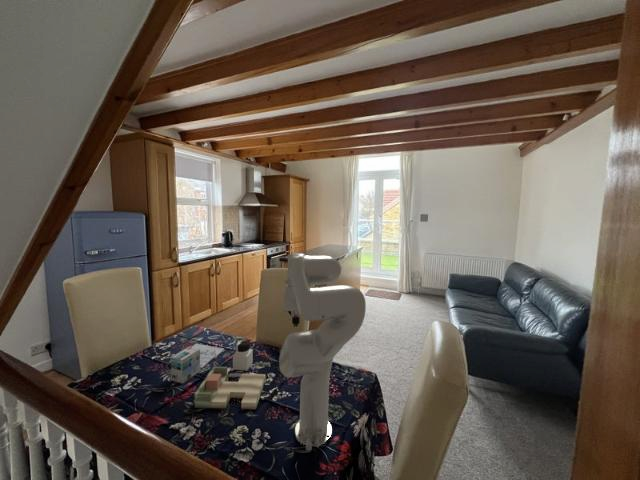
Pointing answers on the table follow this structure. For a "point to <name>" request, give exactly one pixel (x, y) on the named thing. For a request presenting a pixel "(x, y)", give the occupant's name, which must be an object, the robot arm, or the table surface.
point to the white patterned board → (207, 353)
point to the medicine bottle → (242, 356)
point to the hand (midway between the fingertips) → (295, 325)
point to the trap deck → (231, 390)
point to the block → (213, 382)
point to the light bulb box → (185, 364)
